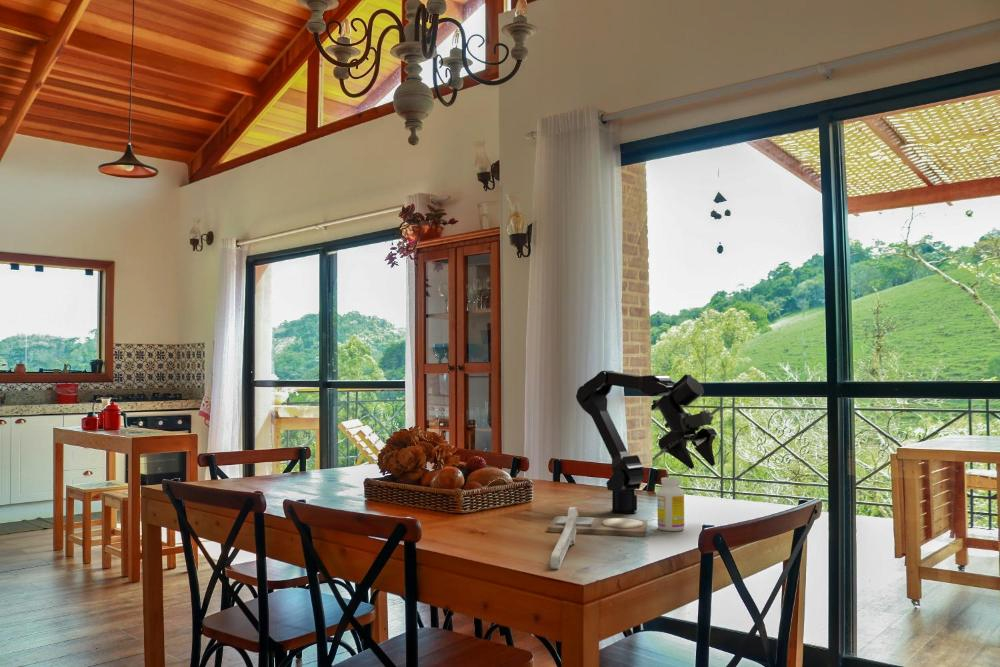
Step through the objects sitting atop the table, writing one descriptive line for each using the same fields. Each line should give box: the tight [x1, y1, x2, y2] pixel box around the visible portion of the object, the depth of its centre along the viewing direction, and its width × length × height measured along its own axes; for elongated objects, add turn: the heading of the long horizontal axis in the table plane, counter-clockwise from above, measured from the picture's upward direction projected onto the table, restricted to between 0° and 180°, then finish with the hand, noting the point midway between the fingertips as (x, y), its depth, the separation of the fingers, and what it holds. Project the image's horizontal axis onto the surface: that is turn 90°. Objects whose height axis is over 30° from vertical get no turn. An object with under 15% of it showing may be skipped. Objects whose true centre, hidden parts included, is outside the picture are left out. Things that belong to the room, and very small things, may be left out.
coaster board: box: [547, 515, 648, 537], centre depth 212 cm, size 24×15×2 cm, turn 79°
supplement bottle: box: [656, 476, 685, 532], centre depth 212 cm, size 7×7×13 cm
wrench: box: [549, 506, 579, 570], centre depth 184 cm, size 8×2×30 cm
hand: (703, 466), depth 216 cm, fingers open, 9 cm apart
